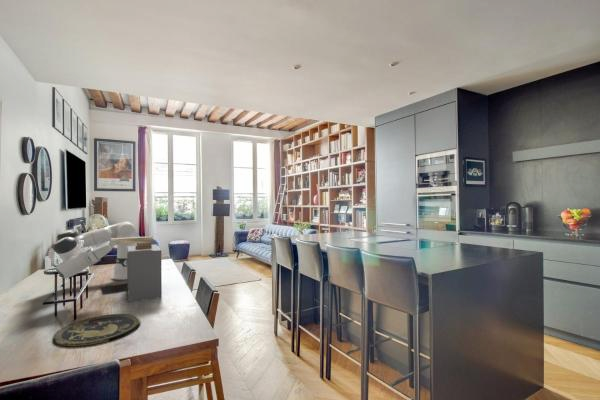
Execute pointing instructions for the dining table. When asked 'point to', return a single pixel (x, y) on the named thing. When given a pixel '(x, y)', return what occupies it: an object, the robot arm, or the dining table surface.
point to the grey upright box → (144, 273)
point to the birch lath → (133, 240)
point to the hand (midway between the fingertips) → (119, 240)
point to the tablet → (114, 289)
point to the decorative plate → (96, 330)
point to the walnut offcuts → (144, 245)
